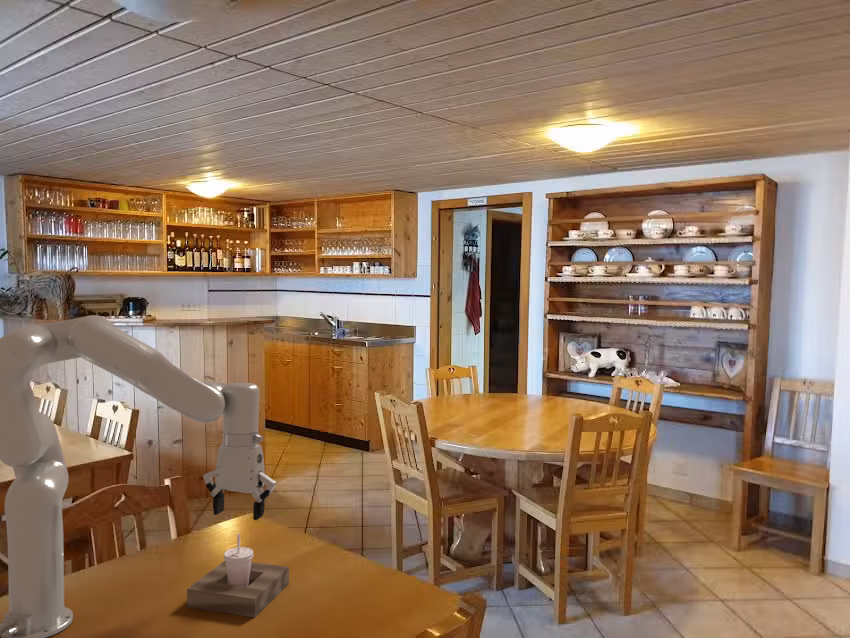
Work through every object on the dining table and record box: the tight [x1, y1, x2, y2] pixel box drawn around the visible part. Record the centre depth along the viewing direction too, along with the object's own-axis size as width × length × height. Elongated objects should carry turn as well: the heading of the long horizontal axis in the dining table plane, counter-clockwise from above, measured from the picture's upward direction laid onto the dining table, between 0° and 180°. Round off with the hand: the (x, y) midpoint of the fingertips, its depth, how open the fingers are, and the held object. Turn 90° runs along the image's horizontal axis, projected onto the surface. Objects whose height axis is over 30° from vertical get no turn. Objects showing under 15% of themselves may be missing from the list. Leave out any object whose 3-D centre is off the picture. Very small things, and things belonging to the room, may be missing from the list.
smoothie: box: [223, 533, 254, 587], centre depth 145 cm, size 6×6×14 cm
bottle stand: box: [186, 560, 290, 618], centre depth 145 cm, size 16×16×4 cm
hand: (238, 515), depth 144 cm, fingers open, 9 cm apart
